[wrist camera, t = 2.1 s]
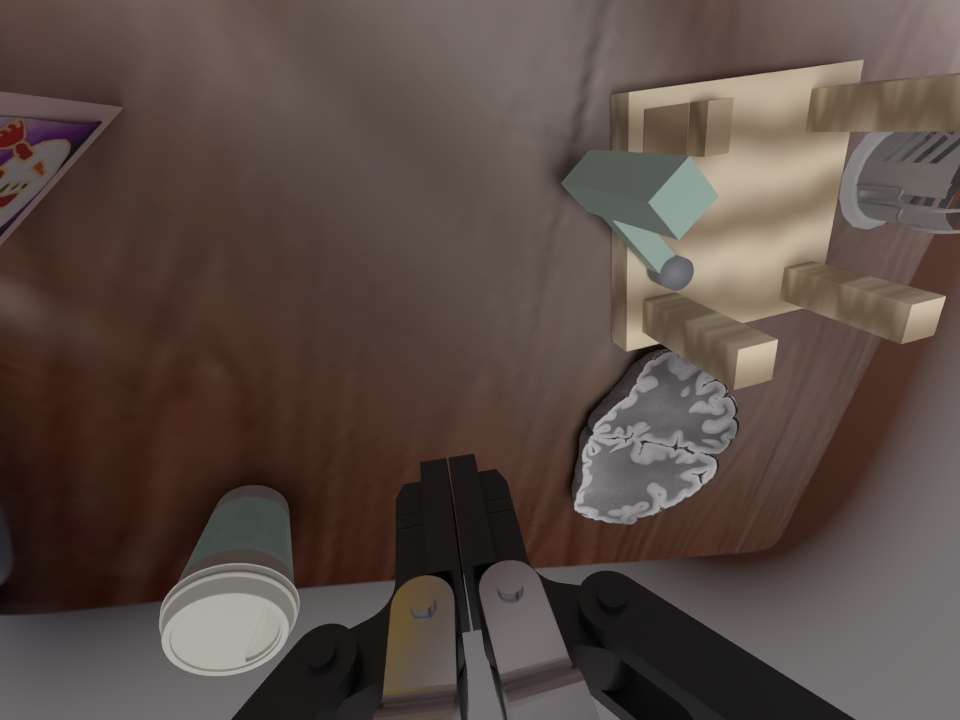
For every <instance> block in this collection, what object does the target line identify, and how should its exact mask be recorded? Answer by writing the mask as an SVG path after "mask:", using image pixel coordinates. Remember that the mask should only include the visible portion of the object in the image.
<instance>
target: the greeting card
mask: <svg viewBox="0 0 960 720" xmlns="http://www.w3.org/2000/svg"><path fill="white" fill-rule="evenodd" d="M122 109H123V107H118V106H110V105H103V104H95V103H87V102H79V101H72V100H64V99H56V98H48V97H40V96H33V95H25V94H17V93H9V92H2V91H0V245H2V244H3V243H4V241H5V240H6V239H7V238H8V237H9V236H10V235H11V234H12V232H13V231H14V230H15V229H16V228H17V227H18V226H19V225H20V224H21V222H22V221H23V220H24V219H25V218H26V217H27V216H28V215H29V213H30V212H31V211H32V210H33V209H34V208H35V207H36V206H37V204H38V203H39V202H40V201H41V200H42V199H43V198H44V197H45V195H46V194H47V193H48V192H49V191H50V190H51V189H52V188H53V186H54V185H55V184H56V183H57V182H58V181H59V180H60V179H61V177H62V176H63V175H64V174H65V173H66V172H67V171H68V170H69V169H70V167H71V166H72V165H73V164H74V163H75V162H76V161H77V160H78V158H79V157H80V156H81V155H82V154H83V153H84V152H85V151H86V149H87V148H88V147H89V146H90V145H91V144H92V143H93V142H94V140H95V139H96V138H97V137H98V136H99V135H100V134H101V133H102V131H103V130H104V129H105V128H106V127H107V126H108V125H109V124H110V123H111V121H112V120H113V119H114V118H115V117H116V116H117V115H118V114H119V112H120V111H121V110H122Z"/></svg>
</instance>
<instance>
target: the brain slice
mask: <svg viewBox="0 0 960 720" xmlns="http://www.w3.org/2000/svg"><path fill="white" fill-rule="evenodd" d="M737 411H738V407H737V404H736V401H735V399H734V398H733V397H732V396H730V395H728V388H727V386H726V385H725V384H723V383H721V382H720V381H718V380H717V379H715V378H714V377H712V376H710V375H709V374H707V373H706V372H704V371H703V370H701V369H699V368H698V367H696V366H695V365H693V364H692V363H690V362H688V361H687V360H685V359H684V358H682V357H681V356H679V355H677V354H676V353H674V352H673V351H671V350H670V349H668V348H665V349H663V350H662V349H661V350H657V351H653V352H650V353H648V354H646V355H645V356H644V357H643V358H641V359H639V360H638V361H637V362H635V363H634V364H632V365H631V367H630V368H629V370H628V371H627V372H626V373H625V375H624V376H623V378H622V379H621V380H620V382H619V383H618V384H617V385H616V386H615V387H614V388H613V389H612V390H611V391H610V393H609V394H608V395H607V396H606V397H605V398H604V399H603V400H602V402H601V403H600V404H599V405H598V407H597V408H596V409H595V410H594V411H593V412H592V413H591V415H590V417H589V419H588V426H586V427H585V428H584V429H583V431H582V433H581V435H580V438H579V453H578V454H579V456H578V459H577V462H576V466H575V477H574V479H573V483H572V495H573V499H572V500H573V505H574V509H575V511H576V512H577V513H579V514H581V515H582V516H584V517H586V518H589V519H591V520H595V521H604V522H608V523H614V524H627V525H630V524H633V523H635V522H636V521H637V520H638V519H640V518H645V517H648V516H652V515H655V514H657V513H658V512H660V511H662V509H665V508H670V507H672V506H675V505H676V504H678V503H680V502H681V501H682V500H683V499H685V498H686V497H690V496H692V495H694V494H695V493H696V492H698V491H699V490H700V489H701V488H702V487H703V485H704V484H706V483H708V482H709V481H710V480H711V479H712V478H713V477H714V476H715V474H716V473H717V471H718V468H719V464H718V459H717V458H716V457H714V456H711V455H709V454H718V453H721V452H723V451H724V450H726V449H727V448H728V447H729V446H730V444H731V442H732V440H733V438H734V437H735V436H736V435H737V433H738V430H739V422H738V420H737V419H736V418H734V417H735V416H736V414H737ZM706 453H708V454H706Z"/></svg>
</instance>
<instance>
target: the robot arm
mask: <svg viewBox="0 0 960 720" xmlns="http://www.w3.org/2000/svg"><path fill="white" fill-rule="evenodd" d="M449 466H450V473H451V480H452V488H453V495H454V503H455V510H456V517H455V510H454V503H453V497H452V491H451V484H450V478H449V472H448V466H447V460H446V458H443V459H437V460H430V461H424V462H420V468H421V482H415V483H409V484H404V485H403V487H402V489H401V491H400V493H399V495H398V497H397V499H396V582H395V589H394V592H393V594H392V597H391V599H390V600H389V602H388V603H387V604H386V606H385V607H384V608H383V609H382V610H381V611H380V612H379V613H377V614H376V615H375V616H373V617H372V618H370V619H368V620H366V621H364V622H362V623H360V624H358V625H357V626H355V627H353V628H351V629H348V628H347V627H345V626H343V625H340V624H325V625H322V626H319V627H316V628H314V629H313V630H311V631H309V632H308V633H307V634H306V635H304V636H303V637H302V638H301V639H300V640H299V641H298V642H297V643H296V645H295V646H294V647H293V648H292V649H291V650H290V652H289V653H288V654H287V655H286V656H285V657H284V659H283V660H282V661H281V662H280V663H279V664H278V666H277V667H276V668H275V669H274V670H273V671H272V673H271V674H270V675H269V676H268V677H267V678H266V680H265V681H264V682H263V683H262V684H261V685H260V687H259V688H258V689H257V690H256V691H255V692H254V694H253V695H252V696H251V697H250V698H249V699H248V701H247V702H246V703H245V704H244V706H242V708H241V709H240V710H239V711H238V712H237V714H236V715H235V716H234V717H233V718H232V719H231V720H469V701H468V679H467V665H466V659H465V654H464V645H463V637H462V633H463V632H469V631H470V623H469V615H468V608H467V600H466V593H465V585H464V577H463V570H462V562H463V569H464V575H465V581H466V588H467V594H468V600H469V606H470V612H471V619H472V625H473V630H474V631H475V630H480V629H481V630H482V637H483V643H484V650H485V654H486V657H487V659H488V661H489V664H490V669H491V673H492V677H493V681H494V685H495V690H496V694H497V699H498V703H499V707H500V712H501V716H502V720H600V718H599V715H598V712H597V710H596V707H595V705H594V702H593V700H592V697H591V695H592V696H593V697H594V698H595V699H596V700H598V701H599V702H600V703H601V704H602V705H604V706H605V707H606V708H607V709H608V710H610V711H611V712H612V713H613V714H615V715H616V716H617V717H618V718H619V719H620V720H855V719H853V718H852V717H850V716H849V715H847V714H846V713H844V712H842V711H841V710H839V709H838V708H836V707H834V706H833V705H831V704H829V703H828V702H826V701H825V700H823V699H822V698H820V697H818V696H817V695H815V694H814V693H812V692H810V691H809V690H807V689H806V688H804V687H803V686H801V685H799V684H798V683H796V682H795V681H793V680H791V679H790V678H788V677H787V676H785V675H783V674H782V673H780V672H779V671H777V670H775V669H774V668H772V667H771V666H769V665H767V664H766V663H764V662H763V661H761V660H759V659H758V658H756V657H754V656H753V655H752V654H750V653H748V652H747V651H745V650H743V649H742V648H740V647H739V646H737V645H736V644H734V643H732V642H731V641H729V640H728V639H726V638H724V637H723V636H721V635H720V634H718V633H716V632H715V631H713V630H711V629H710V628H708V627H707V626H705V625H704V624H702V623H700V622H699V621H697V620H696V619H694V618H692V617H691V616H689V615H688V614H686V613H684V612H683V611H681V610H680V609H678V608H677V607H675V606H673V605H672V604H670V603H669V602H667V601H665V600H664V599H662V598H661V597H659V596H657V595H656V594H654V593H653V592H651V591H649V590H648V589H646V588H645V587H643V586H641V585H640V584H638V583H637V582H635V581H634V580H632V579H630V578H629V577H627V576H625V575H623V574H620V573H618V572H614V571H600V572H596V573H594V574H591V575H590V576H588V577H587V578H586V579H585V580H584V581H583V582H582V584H581V585H580V586H579V585H572V584H565V583H558V582H554V581H551V580H548V579H546V578H544V577H543V576H541V575H540V574H539V573H538V572H536V571H535V570H534V568H533V567H532V566H531V564H530V562H529V560H528V557H527V554H526V550H525V546H524V543H523V539H522V535H521V532H520V528H519V524H518V521H517V517H516V513H515V510H514V506H513V502H512V499H511V495H510V491H509V487H508V484H507V481H506V480H505V479H504V478H503V476H502V475H501V474H500V473H499V472H498V471H497V470H496V469H493V470H487V471H481V472H478V470H477V465H476V460H475V456H474V454H468V455H462V456H455V457H449ZM456 518H457V525H458V532H459V540H460V547H461V555H462V562H461V555H460V547H459V540H458V532H457V525H456Z"/></svg>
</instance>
